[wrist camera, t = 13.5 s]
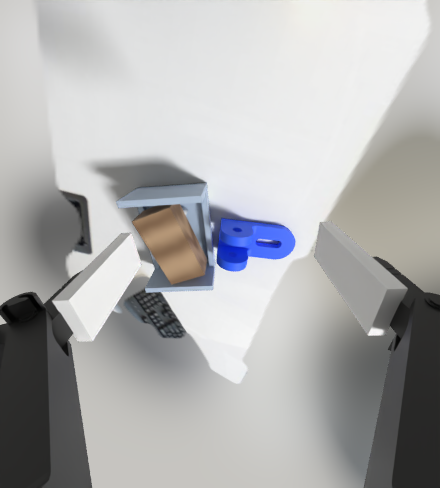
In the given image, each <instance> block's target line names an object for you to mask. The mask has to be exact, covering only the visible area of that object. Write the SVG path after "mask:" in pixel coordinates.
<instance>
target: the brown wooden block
mask: <svg viewBox="0 0 440 488" xmlns="http://www.w3.org/2000/svg"><path fill="white" fill-rule="evenodd" d="M132 223H133V225H134V226H135V228H136V229H137V231H138V232H139V234H140V236H141V237H142V239H143V240H144V242H145V244H146V245H147V247H148V248H149V250H150V251H151V253H152V255H153V256H154V258H155V259H156V261H157V263H158V264H159V266H160V267H161V269H162V270H163V272H164V274H165V275H166V277H167V278H168V280H169V282H170V283H171V285H172V284H176V283H179V282H183V281H186V280H189V279H193V278H196V277H200V276H203V275H205V270H206V264H207V258H206V256H205V254H204V252H203V250H202V248H201V246H200V244H199V242H198V240H197V238H196V236H195V234H194V232H193V229H192V227H191V225H190V223H189V221H188V219H187V217H186V215H185V213H184V211H183V209H182V207H181V205H180V204H174V205H158V206H154V207H152V208H149V209H147V210H144V211H143V212H142V213H141V214H139V215H138V216H137V217H136V218H135V219H134V220H133V221H132Z"/></svg>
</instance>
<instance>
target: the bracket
mask: <svg viewBox="0 0 440 488" xmlns="http://www.w3.org/2000/svg"><path fill="white" fill-rule="evenodd" d="M257 239H268V240H276V241H280V242H279V243H278V244H267V243H259V242H256V240H257ZM294 246H295V238H294V236H293V234H292V233H291V231H290V230H289V229H288V228H286V227H284V226H281V225H273V224H265V223H257V222H249V221H241V220H233V219H224V218H222V219H221V227H220V234H219V242H218V250H217V264H218V265H219V266H220V267H221V268H223V269H225V270H228V271H241V270H243V269H244V268H245V267H246V265H247V260H248V256H251V257H259V258H268V259H281V258H284V257H286V256H287V255H289V254H290V253H291V252H292V250H293V249H294Z"/></svg>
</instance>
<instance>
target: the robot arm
mask: <svg viewBox="0 0 440 488" xmlns="http://www.w3.org/2000/svg"><path fill="white" fill-rule="evenodd" d="M314 257H315V259H316V260H317V262H318V263H319V264H320V266H321V267H322V269H323V270H324V272H325V273H326V275H327V276H328V278H329V279H330V280H331V282H332V284H333V285H334V287H335V288H336V289H337V291H338V292H339V294H340V295H341V297H342V298H343V300H344V301H345V303H346V304H347V306H348V307H349V309H350V310H351V311H352V313H353V314H354V316H355V317H356V319H357V320H358V322H359V323H360V325H361V326H362V328H363V329H364V330H365V332H366V334H367V335H386V333H387V331H388V329H389V327H390V326H391V327H392V329H393V330H394V331H395V332H396V335H395V337H394V339H393V341H392V343H391V345H390V346H389V348H388V350H390V351H391V354H390V359H389V364H388V369H387V374H386V379H385V384H384V389H383V394H382V399H381V404H380V409H379V414H378V419H377V424H376V429H375V434H374V439H373V444H372V449H371V454H370V460H369V464H368V469H367V474H366V479H365V484H364V488H440V295H437V294H433V293H425V292H423V291H422V290H421V289H420V288H418V287H417V286H416V285H415V284H413V283H412V282H411V281H410V280H409V279H408V278H406V277H405V276H404V275H401V273H400V272H399V271H398V270H396V269H395V268H394V267H393V266H392V265H391V264H389V263H388V262H387V261H385V260H383V259H380V258H379V257H372V256H370V255H369V254H368V253H367V252H366V251H365V250H364V249H363V248H361V247H360V246H359V245H358V244H357V243H355V241H353V240H352V239H351V238H350V237H349V236H348V235H347V234H345V233H344V232H343V231H342V230H341V229H340V228H338V226H336V225H335V224H334V223H333V222H320V225H319V231H318V237H317V242H316V248H315V254H314ZM141 265H142V264H141V261H140V258H139V254H138V251H137V248H136V245H135V242H134V239H133V236H132V233H121V234H120V235H119V236H118V237H117V238H116V239H115V240H114V241H113V242H112V243H111V244H110V245H109V246H108V247H107V248H106V249H105V250H104V251H103V252H102V253H101V254H100V255H99V256H98V257H96V258H95V259H94V260H93V261H92V262H91V263H90V264H89V265H88V266H87V267H86V268H85V269H84V270H82V271H81V272H79V273H77V274H76V275H74V276H73V277H72V278H71V279H70V280H69V281H68V282H67V283H66V284H64V286H62V288H61V289H59V290H58V291H57V292H56V293H55V294H54V295H53V296H52V297H51V298H50V299H49V300H48V301H47V302H46V303H44V304H43V303H42V301H41V300H40V298H39V297H38V296H37V294H36V293H33V292H28V293H23V294H20V295H18V296H15V297H13V298H11V299H9V300H8V301H6V302H5V303H3V304H2V305H1V306H0V315H1V316H2V318H3V319H4V320H5V321H6V322H7V323H6V324H2V325H0V488H92V483H91V477H90V470H89V463H88V456H87V450H86V443H85V436H84V429H83V423H82V416H81V409H80V403H79V396H78V389H77V382H76V375H75V368H74V362H73V355H72V348H71V344H70V342H69V341H68V339H69V338H70V337H71V336H72V334H74V336H75V337H76V339H77V340H78V341H93V340H94V338H95V337H96V335H97V334H98V332H99V331H100V329H101V327H102V326H103V324H104V322H105V321H106V320H107V318H108V316H109V315H110V313H111V312H112V310H113V309H114V307H115V305H116V304H117V302H118V301H119V299H120V298H121V296H122V295H123V293H124V291H125V290H126V288H127V286H128V285H129V283H130V282H131V280H132V279H133V277H134V276H135V274H136V273H137V271H138V269H139V268H140V266H141Z"/></svg>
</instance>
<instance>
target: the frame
mask: <svg viewBox="0 0 440 488" xmlns="http://www.w3.org/2000/svg"><path fill="white" fill-rule="evenodd" d="M116 203H117V206H118V208H128V207H137V208H138V211H139V214H141V213H142V212H143V211H144V210H147V209H149V208H152V207H154V206H158V205H174V204H180V205H181V207H182V209H183V211H184V213H185V215H186V217H187V219H188V221H189V223H190V225H191V227H192V229H193V232H194V234H195V236H196V238H197V240H198V242H199V244H200V246H201V248H202V250H203V252H204V254H205V256H206V258H207V264H206V270H205V275H203V276H200V277H196V278H193V279H189V280H186V281H183V282H179V283H176V284H172V285H171V283H170V282H169V280H168V278H167V277H166V275H165V274H164V272H163V270H162V269H161V267H160V266H159V264H158V263H157V261H156V259H155V258H154V256H153V255H152V253H151V251H150V253H151V257H152V260H153V264H154V267H155V270H154V272H153V274H152V276H151V278H150V280H149V282H148V284H147V286H146V287H145V290H146V292H172V291H199V290H213V284H214V273H215V256H214V247H213V237H212V228H211V219H210V209H209V200H208V191H207V183H195V184H181V185H167V186H153V187H139V188H136V189H135V190H133V191H132V192H130V193H129V194H127V195H126V196H124V197H122V198H121V199H119V200H118V201H116Z"/></svg>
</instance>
